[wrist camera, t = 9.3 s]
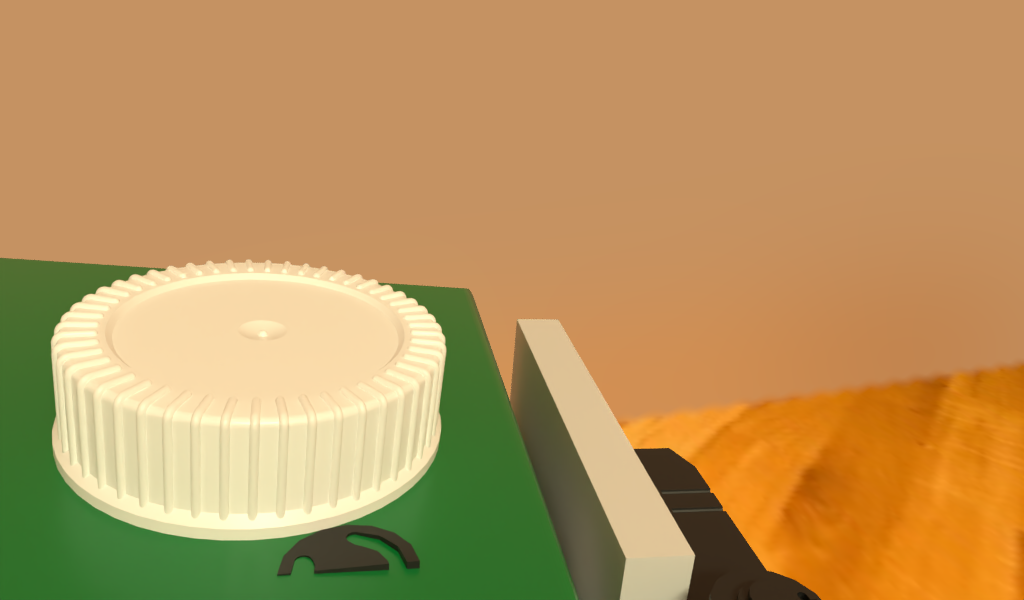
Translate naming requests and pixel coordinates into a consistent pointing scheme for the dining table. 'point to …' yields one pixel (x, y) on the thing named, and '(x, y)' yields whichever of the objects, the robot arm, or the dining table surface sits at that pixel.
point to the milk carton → (256, 437)
